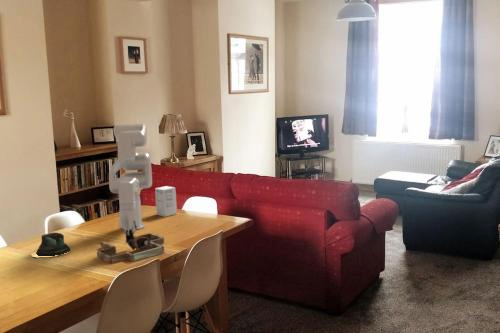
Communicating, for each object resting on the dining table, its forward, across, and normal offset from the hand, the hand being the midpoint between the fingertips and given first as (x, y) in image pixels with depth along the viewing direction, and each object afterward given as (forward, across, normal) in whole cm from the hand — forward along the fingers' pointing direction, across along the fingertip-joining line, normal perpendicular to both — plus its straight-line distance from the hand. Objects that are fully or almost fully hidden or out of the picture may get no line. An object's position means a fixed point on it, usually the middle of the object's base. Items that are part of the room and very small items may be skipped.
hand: (129, 242), depth 254 cm
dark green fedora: (+4, -24, -28) cm, 38 cm away
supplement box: (+4, -46, +52) cm, 69 cm away
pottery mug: (+4, +6, +2) cm, 8 cm away
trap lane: (+4, +2, 0) cm, 4 cm away
